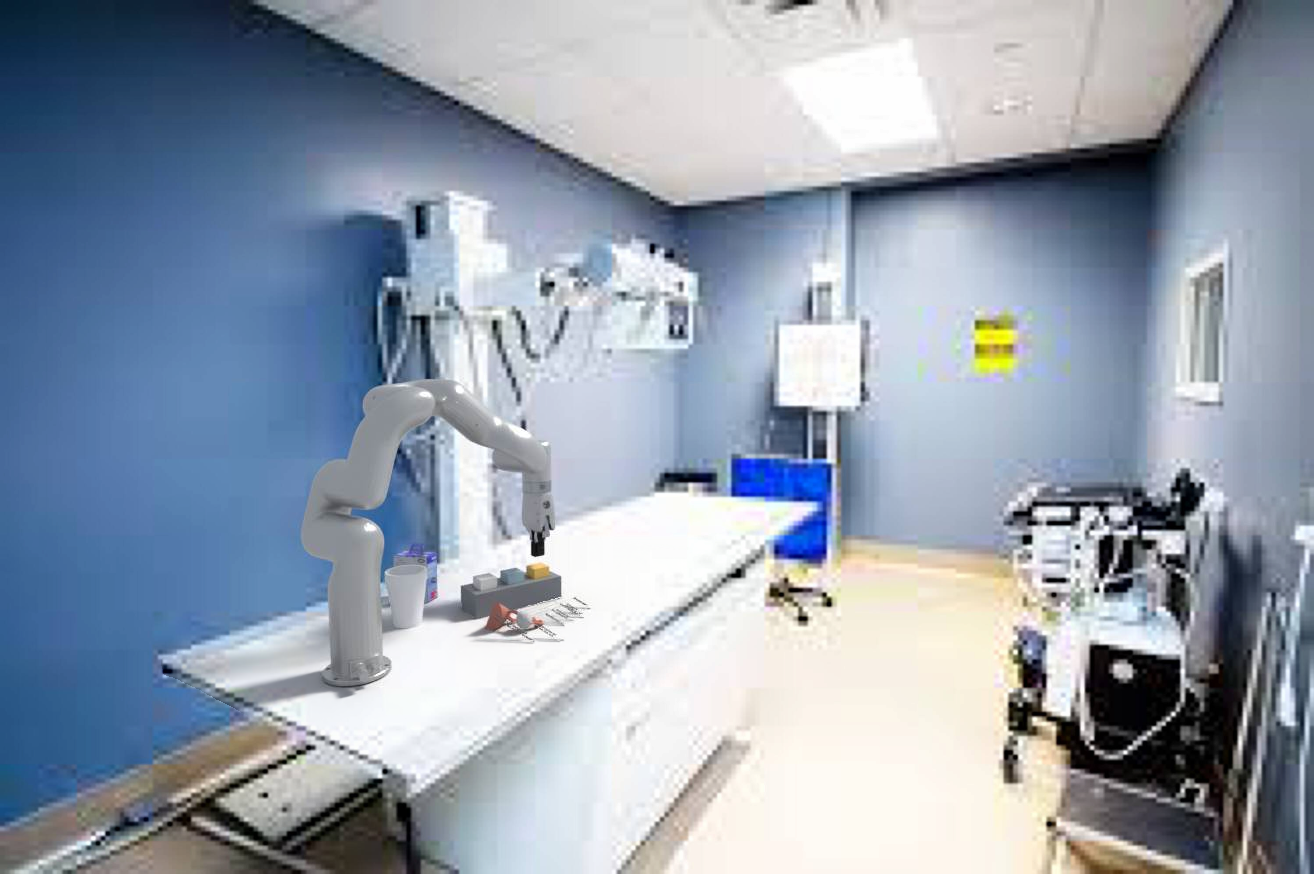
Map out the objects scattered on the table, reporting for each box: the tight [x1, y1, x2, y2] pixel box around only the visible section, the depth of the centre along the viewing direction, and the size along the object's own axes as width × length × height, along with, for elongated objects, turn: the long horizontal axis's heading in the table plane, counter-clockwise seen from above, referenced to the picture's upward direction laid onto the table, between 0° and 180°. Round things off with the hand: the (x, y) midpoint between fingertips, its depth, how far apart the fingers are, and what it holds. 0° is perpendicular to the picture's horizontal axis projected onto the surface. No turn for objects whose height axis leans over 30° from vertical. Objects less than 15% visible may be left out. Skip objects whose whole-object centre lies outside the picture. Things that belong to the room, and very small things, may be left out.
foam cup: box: [384, 565, 428, 630], centre depth 160 cm, size 10×9×13 cm
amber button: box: [525, 562, 550, 579], centre depth 179 cm, size 4×4×4 cm
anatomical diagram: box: [484, 596, 588, 641], centre depth 163 cm, size 21×9×25 cm
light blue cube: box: [499, 567, 525, 585], centre depth 175 cm, size 4×4×4 cm
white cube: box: [472, 572, 498, 591], centre depth 170 cm, size 4×4×4 cm
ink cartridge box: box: [393, 542, 438, 604], centre depth 178 cm, size 10×6×14 cm, turn 78°
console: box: [460, 570, 562, 620], centre depth 175 cm, size 9×24×6 cm, turn 130°
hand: (537, 555), depth 179 cm, fingers closed
